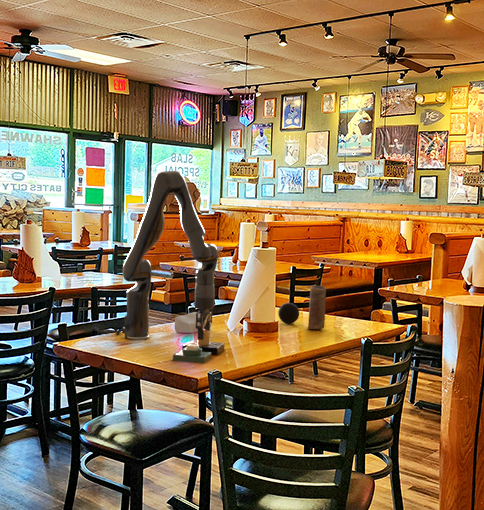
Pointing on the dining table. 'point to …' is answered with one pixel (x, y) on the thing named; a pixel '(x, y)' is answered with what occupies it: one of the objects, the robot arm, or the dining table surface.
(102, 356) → the dining table surface
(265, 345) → the dining table surface
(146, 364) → the dining table surface
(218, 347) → the panel
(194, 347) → the button
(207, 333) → the knob
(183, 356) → the button block
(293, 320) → the decorative ball
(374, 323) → the dining table surface
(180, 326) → the stone
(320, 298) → the candle
